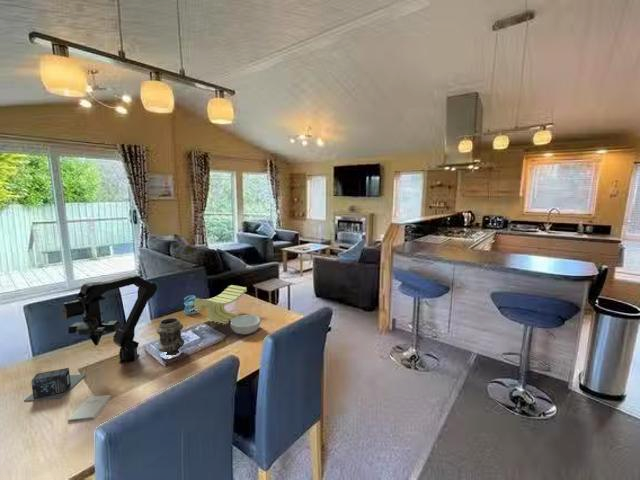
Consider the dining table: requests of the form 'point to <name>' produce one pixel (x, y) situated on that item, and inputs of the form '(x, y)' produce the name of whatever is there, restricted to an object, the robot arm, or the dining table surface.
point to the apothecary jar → (170, 336)
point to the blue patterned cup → (189, 305)
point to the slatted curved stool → (220, 304)
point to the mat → (73, 379)
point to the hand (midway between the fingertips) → (96, 344)
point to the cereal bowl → (245, 324)
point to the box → (51, 383)
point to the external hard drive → (90, 408)
